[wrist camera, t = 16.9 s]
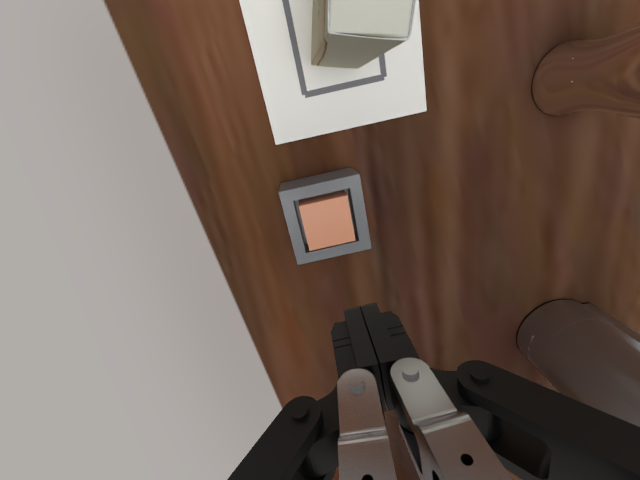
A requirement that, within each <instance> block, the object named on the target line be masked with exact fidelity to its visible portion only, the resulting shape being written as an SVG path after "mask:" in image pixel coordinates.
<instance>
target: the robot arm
mask: <svg viewBox="0 0 640 480" xmlns="http://www.w3.org/2000/svg"><path fill="white" fill-rule="evenodd" d="M360 310H361V311H360ZM344 315H345V320H346V321H343V322H339V323H334V326H333V328H332V331H331V335H332V341H333V347H334V353H335V359H336V365H337V371H338V383H337V385H336V387H335V388H334V390H333V391H332V392H331V393H330V394H329V395H327V396H325V397H324V398H322V399H320V400H318V401H316V400H315V399H314V398H312V397H309V396H301V397H297V398H295V399H293V400H291V401H290V402H288V403H287V404H286V405H285V406H284V408H283V409H282V410H281V412H280V413H279V414H278V415H277V417H276V418H275V419H274V421H273V422H272V423H271V424H270V426H269V427H268V428H267V430H266V431H265V432H264V434H263V435H262V436H261V437H260V439H259V440H258V441H257V442H256V444H255V445H254V446H253V447H252V449H251V450H250V451H249V453H248V454H247V455H246V457H245V458H244V459H243V460H242V462H241V463H240V464H239V465H238V467H237V468H236V469H235V471H234V472H233V473H232V474H231V476H230V477H229V478H228V480H332V478H333V476H334V474H335V470H336V467H338V466H339V480H397V479H396V474H395V469H394V464H393V460H392V455H391V450H390V445H389V440H388V435H387V431H386V423H385V417H384V412H385V411H386V405H387V408H388V411H389V410H394V409H395V412H396V415H397V418H398V424H399V429H400V432H401V434H402V437H403V439H404V442H405V444H406V446H407V449H408V451H409V454H410V456H411V458H412V461H413V463H414V465H415V468H416V470H417V473H418V475H419V477H420V480H512V478H511V477H510V475H509V474H508V472H507V471H506V470H508V471H509V472H511V473H512V474H514V475H516V476H517V477H519V478H520V479H522V480H640V334H639V333H637V332H636V331H634V330H633V329H631V328H629V327H628V326H626V325H625V324H623V323H621V322H620V321H618V320H617V319H615V318H614V317H612V316H610V315H609V314H607V313H606V312H604V311H602V310H601V309H599V308H598V307H596V306H594V305H593V304H591V303H587V304H581V303H578V302H576V301H573V300H568V299H567V300H556V301H552V302H549V303H547V304H544V305H542V306H541V307H539V308H537V309H536V310H535V311H533V312H532V313H531V314H530V315H529V316H528V317H527V318H526V319H525V320H524V322H523V323H522V325H521V327H520V329H519V332H518V336H517V344H518V347H519V349H520V351H521V352H522V353H523V354H524V355H525V356H526V358H527V359H528V360H529V361H530V362H531V363H532V364H533V365H534V366H535V367H536V368H537V369H538V370H539V371H540V372H541V373H542V374H543V375H544V376H545V377H546V378H547V379H548V380H549V382H550V383H551V384H552V385H553V386H554V387H555V388H556V389H557V390H558V391H559V392H560V393H561V394H560V393H558V392H555V391H553V390H551V389H548V388H546V387H544V386H541V385H539V384H537V383H534V382H532V381H529V380H527V379H525V378H522V377H520V376H518V375H515V374H513V373H510V372H508V371H506V370H503V369H501V368H499V367H496V366H494V365H491V364H489V363H486V362H483V361H477V360H473V361H467V362H464V363H463V364H461V365H460V366H459V367H458V369H457V372H453V371H440V370H436V369H433V368H430V367H429V366H428V365H427V364H426V363H425V362H423V361H422V360H420V358H419V356H418V354H417V352H416V350H415V348H414V346H413V344H412V342H411V340H410V339H409V337H408V335H407V333H406V331H405V329H404V327H403V325H402V323H401V321H400V319H399V317H398V316H396V315H395V314H393V313H392V312H391V311H389V312H384V313H380V310H379V308H378V306H377V304H376V303H372V304H367V305H362V306H360V308H359V306H358V307H354V308H349V309H344ZM385 402H386V405H385Z"/></svg>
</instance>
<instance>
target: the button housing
mask: <svg viewBox="0 0 640 480" xmlns="http://www.w3.org/2000/svg"><path fill="white" fill-rule="evenodd" d="M340 190H344V191H345V192H346V194H347V195H348V201H349V207H350V212H351V218H352V223H353V229H354V234H355V240H356V241H352V242H347V243H343V244H338V245H334V246H329V247H325V248H320V249H316V250H311V251H309V247H308V243H307V238H306V234H305V230H304V226H303V222H302V218H301V214H300V210H299V203H298V200H300V199H304V198H308V197H313V196H317V195H322V194H326V193H331V192H335V191H340ZM279 196H280V200H281V204H282V207H283V211H284V215H285V219H286V223H287V226H288V230H289V234H290V238H291V241H292V245H293V249H294V253H295V257H296V260H297V264H298V265H300V264H305V263H309V262H314V261H318V260H322V259H327V258H331V257H336V256H340V255H345V254H349V253H354V252H358V251H363V250H367V249H371V242H370V235H369V229H368V223H367V217H366V210H365V204H364V198H363V192H362V185H361V179H360V174H359V173H358V172H357V171H356V170H354V169H353V168H352V167H349V168H345V169H340V170H336V171H331V172H327V173H322V174H318V175H313V176H309V177H305V178H300V179H296V180H291V181H287V182H282V183H280V187H279Z"/></svg>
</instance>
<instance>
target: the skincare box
mask: <svg viewBox="0 0 640 480" xmlns="http://www.w3.org/2000/svg"><path fill="white" fill-rule="evenodd" d="M415 4H416V0H313V8H312V40H311V65H314V66H324V67H337V68H354V69H358V68H360V67H362V66H363V65H365V64H367V63H369V62H370V61H372V60H374V59H376V58H377V57H379V56H381V55H382V54H384V53H386V52H387V51H389V50H391V49H393V48H394V47H396V46H398V45H400V44H401V43H403V42H405V41H407V40H408V39H409V38H410V36H411V31H412V25H413V18H414V12H415Z"/></svg>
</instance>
